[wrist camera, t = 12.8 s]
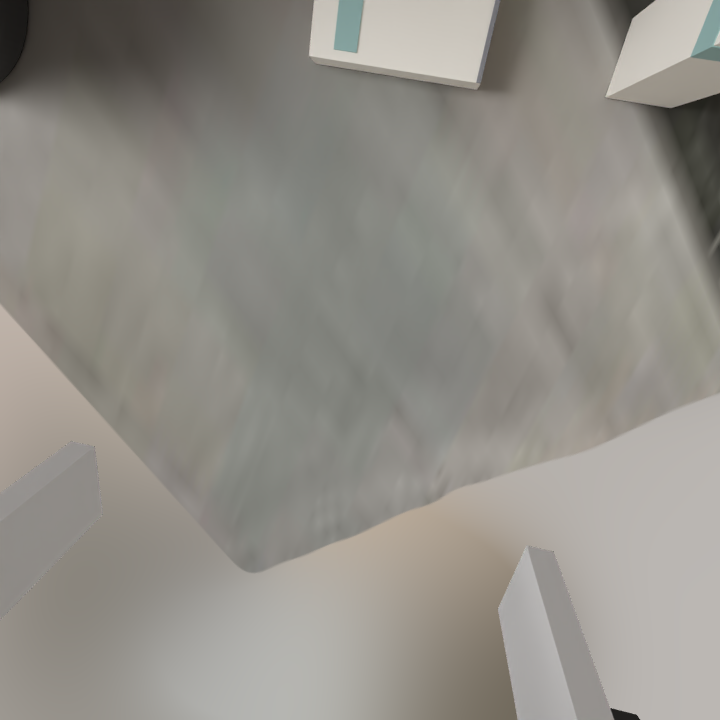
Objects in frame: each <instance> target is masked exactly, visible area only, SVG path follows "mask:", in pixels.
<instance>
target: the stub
mask: <svg viewBox="0 0 720 720" xmlns="http://www.w3.org/2000/svg"><path fill="white" fill-rule="evenodd" d="M718 93H720V0H655V1H654V2H653V3H652V4H650V5H649V6H648V7H647V8H645V9H644V10H643V11H641V12H640V13H639V14H638V15H636V16H635V17H634V18H633V19H632V22H631V25H630V27H629V30H628V33H627V36H626V39H625V42H624V45H623V48H622V51H621V53H620V56H619V59H618V62H617V65H616V68H615V71H614V74H613V77H612V79H611V82H610V85H609V88H608V91H607V94H606V97H605V98H610V99H616V100H622V101H629V102H635V103H641V104H647V105H654V106H660V107H666V108H673V107H676V106H680V105H683V104H686V103H689V102H692V101H696V100H699V99H702V98H705V97H708V96H712V95H715V94H718Z"/></svg>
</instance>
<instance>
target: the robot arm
mask: <svg viewBox="0 0 720 720" xmlns="http://www.w3.org/2000/svg"><path fill="white" fill-rule="evenodd" d="M27 14H28V12H27V0H0V81H2V80H3V79H4V78H5V77H6V76H7V75H8V74H9V73H10V71H11V70H12V69H13V67H14V66H15V64H16V62H17V60H18V58H19V56H20V53H21V51H22V48H23V44H24V40H25V35H26V29H27ZM102 515H103V510H102V502H101V493H100V486H99V477H98V469H97V461H96V452H95V446H90V445H86V444H81V443H77V442H73V441H71V442H69V443H68V444H67V445H65V446H64V447H63V448H61V449H60V450H58V451H57V452H56V453H54V454H53V455H52V456H50V457H49V458H47V459H46V460H45V461H43V462H42V463H41V464H39V465H38V466H36V467H35V468H34V469H32V470H31V471H30V472H28V473H27V474H25V475H24V476H23V477H21V478H20V479H19V480H17V481H16V482H14V483H13V484H12V485H10V486H9V487H8V488H6V489H5V490H4V491H2V492H1V493H0V620H1V619H2V618H3V617H4V616H5V615H6V614H7V613H8V612H9V611H10V610H11V608H13V606H14V605H15V604H16V603H17V602H18V601H19V600H20V599H21V598H22V597H23V596H24V595H25V594H26V593H27V592H28V591H29V590H30V589H31V588H32V587H33V586H34V585H35V584H36V583H37V582H38V581H39V580H40V579H41V578H42V577H43V576H44V575H45V574H46V572H48V570H49V569H50V568H51V567H52V566H53V565H54V564H55V563H56V562H57V561H58V560H59V559H60V558H61V557H62V556H63V555H64V554H65V553H66V552H67V551H68V550H69V549H70V548H71V547H72V546H73V545H74V544H75V543H76V541H78V540H79V539H80V538H81V536H82V535H83V534H84V533H85V532H86V531H87V530H88V529H89V528H90V527H91V526H92V525H93V524H94V523H95V522H96V521H97V520H98V519H99V518H100V517H101V516H102ZM498 611H499V617H500V622H501V627H502V633H503V639H504V645H505V650H506V656H507V661H508V666H509V672H510V678H511V684H512V689H513V694H514V700H515V706H516V711H517V717H518V720H640V719H639V718H638V716H637V715H636V714H632V713H627V712H623V711H619V710H616V709H612V708H610V707H609V704H608V701H607V699H606V695H605V693H604V690H603V687H602V684H601V682H600V679H599V676H598V673H597V671H596V668H595V665H594V662H593V659H592V657H591V654H590V651H589V648H588V646H587V643H586V640H585V637H584V634H583V632H582V629H581V626H580V623H579V620H578V618H577V615H576V612H575V610H574V607H573V604H572V601H571V598H570V595H569V593H568V590H567V587H566V584H565V582H564V579H563V576H562V573H561V571H560V568H559V565H558V562H557V559H556V557H555V554H554V552H553V551H549V550H545V549H540V548H536V547H532V546H526V549H525V550H524V553H523V555H522V557H521V559H520V561H519V564H518V566H517V568H516V570H515V572H514V575H513V577H512V579H511V581H510V584H509V586H508V588H507V590H506V593H505V595H504V597H503V599H502V601H501V604H500V606H499V608H498Z"/></svg>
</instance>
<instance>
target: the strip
mask: <svg viewBox="0 0 720 720" xmlns="http://www.w3.org/2000/svg"><path fill="white" fill-rule="evenodd" d="M499 4H500V0H314V7H313V17H312V28H311V39H310V50H309V57H310V58H311V59H312V60H313V61H314V62H315V63H316V64H321V65H327V66H333V67H339V68H345V69H351V70H358V71H364V72H370V73H376V74H382V75H388V76H395V77H401V78H407V79H413V80H419V81H425V82H432V83H438V84H444V85H450V86H456V87H462V88H469V89H475V90H477V89H478V87H479V85H480V84H481V80H482V76H483V71H484V67H485V63H486V59H487V55H488V50H489V46H490V42H491V38H492V34H493V29H494V25H495V21H496V17H497V13H498V8H499Z"/></svg>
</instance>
